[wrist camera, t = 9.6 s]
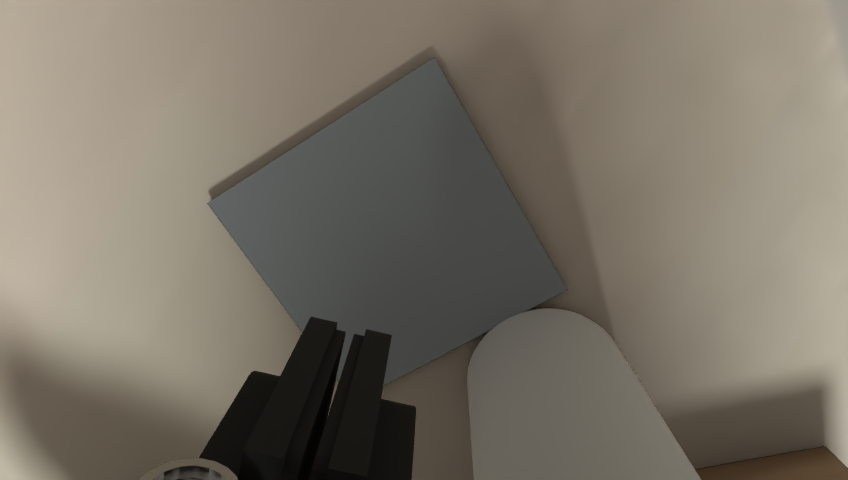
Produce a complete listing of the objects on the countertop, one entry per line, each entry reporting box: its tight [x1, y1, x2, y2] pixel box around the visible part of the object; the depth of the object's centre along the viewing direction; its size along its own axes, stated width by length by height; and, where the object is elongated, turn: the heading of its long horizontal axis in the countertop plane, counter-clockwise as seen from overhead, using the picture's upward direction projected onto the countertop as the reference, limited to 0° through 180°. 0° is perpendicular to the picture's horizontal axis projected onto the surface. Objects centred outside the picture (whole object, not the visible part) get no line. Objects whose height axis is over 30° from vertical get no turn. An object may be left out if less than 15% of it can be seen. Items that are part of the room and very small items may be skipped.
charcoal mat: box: [207, 58, 567, 386], centre depth 21 cm, size 10×10×1 cm
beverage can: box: [467, 308, 701, 480], centre depth 17 cm, size 6×6×12 cm
